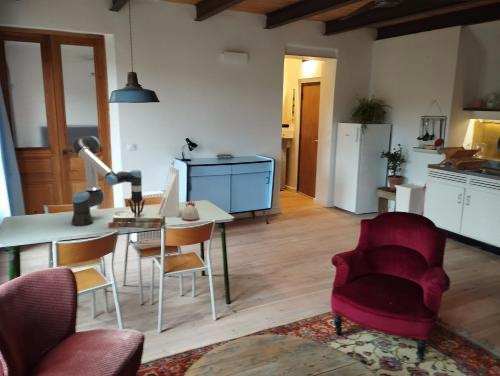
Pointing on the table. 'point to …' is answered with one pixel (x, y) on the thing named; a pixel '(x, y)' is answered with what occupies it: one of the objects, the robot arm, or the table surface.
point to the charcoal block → (143, 221)
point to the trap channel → (152, 222)
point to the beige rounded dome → (190, 212)
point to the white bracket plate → (171, 196)
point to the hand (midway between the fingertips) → (137, 221)
